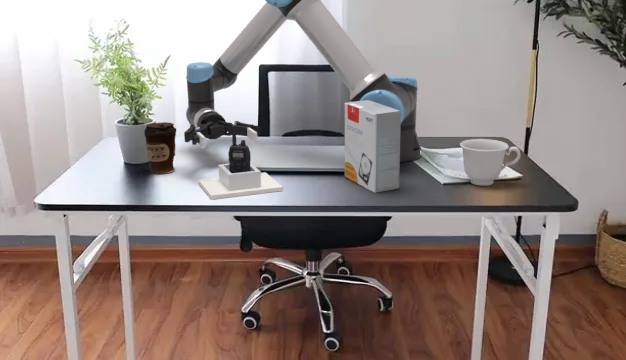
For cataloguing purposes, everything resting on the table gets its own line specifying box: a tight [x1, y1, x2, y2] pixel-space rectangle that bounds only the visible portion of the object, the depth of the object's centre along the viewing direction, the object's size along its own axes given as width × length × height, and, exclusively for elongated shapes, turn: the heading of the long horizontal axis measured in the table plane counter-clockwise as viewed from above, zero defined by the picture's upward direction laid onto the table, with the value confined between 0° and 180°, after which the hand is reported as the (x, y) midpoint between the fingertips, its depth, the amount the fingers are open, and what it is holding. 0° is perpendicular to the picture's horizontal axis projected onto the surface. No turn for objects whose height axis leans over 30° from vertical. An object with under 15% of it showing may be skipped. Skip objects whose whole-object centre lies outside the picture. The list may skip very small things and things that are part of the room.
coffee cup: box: [143, 121, 177, 174], centre depth 197 cm, size 9×8×13 cm
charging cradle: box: [197, 162, 284, 200], centre depth 184 cm, size 18×14×5 cm
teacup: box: [459, 138, 521, 187], centre depth 185 cm, size 12×15×10 cm
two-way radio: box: [227, 125, 252, 173], centre depth 183 cm, size 6×4×15 cm
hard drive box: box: [343, 100, 401, 194], centre depth 184 cm, size 16×8×20 cm, turn 27°
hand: (230, 140), depth 188 cm, fingers open, 13 cm apart
